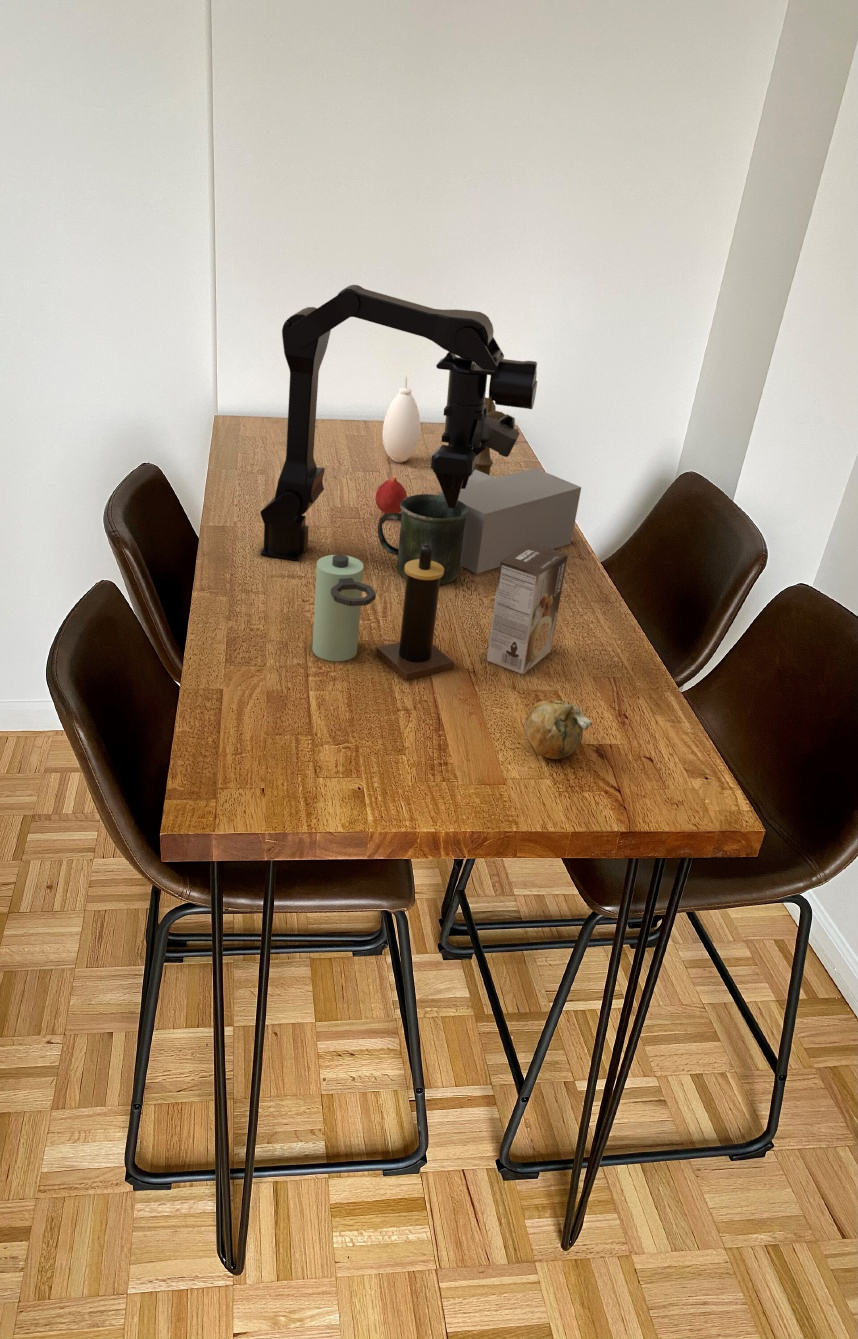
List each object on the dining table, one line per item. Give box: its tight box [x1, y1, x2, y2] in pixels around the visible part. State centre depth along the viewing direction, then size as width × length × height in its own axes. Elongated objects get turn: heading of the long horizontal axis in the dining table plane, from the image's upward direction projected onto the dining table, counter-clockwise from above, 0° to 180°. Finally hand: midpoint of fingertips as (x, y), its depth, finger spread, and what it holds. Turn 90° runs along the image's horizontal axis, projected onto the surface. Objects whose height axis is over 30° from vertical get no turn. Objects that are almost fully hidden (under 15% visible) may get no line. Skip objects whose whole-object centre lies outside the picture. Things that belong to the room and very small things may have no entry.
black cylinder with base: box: [375, 545, 455, 682], centre depth 145 cm, size 8×8×18 cm
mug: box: [377, 493, 469, 586], centre depth 172 cm, size 11×15×12 cm
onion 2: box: [524, 700, 593, 760], centre depth 132 cm, size 8×8×8 cm
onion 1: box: [375, 475, 408, 514], centre depth 193 cm, size 6×6×8 cm
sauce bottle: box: [382, 375, 421, 464], centre depth 217 cm, size 8×8×18 cm
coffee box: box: [486, 543, 569, 675], centre depth 150 cm, size 9×6×16 cm
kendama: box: [474, 396, 506, 476], centre depth 210 cm, size 6×10×20 cm, turn 15°
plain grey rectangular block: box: [437, 467, 582, 575], centre depth 189 cm, size 25×23×11 cm
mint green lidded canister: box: [311, 554, 377, 662], centre depth 144 cm, size 13×6×14 cm, turn 19°
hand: (457, 497), depth 166 cm, fingers open, 9 cm apart
